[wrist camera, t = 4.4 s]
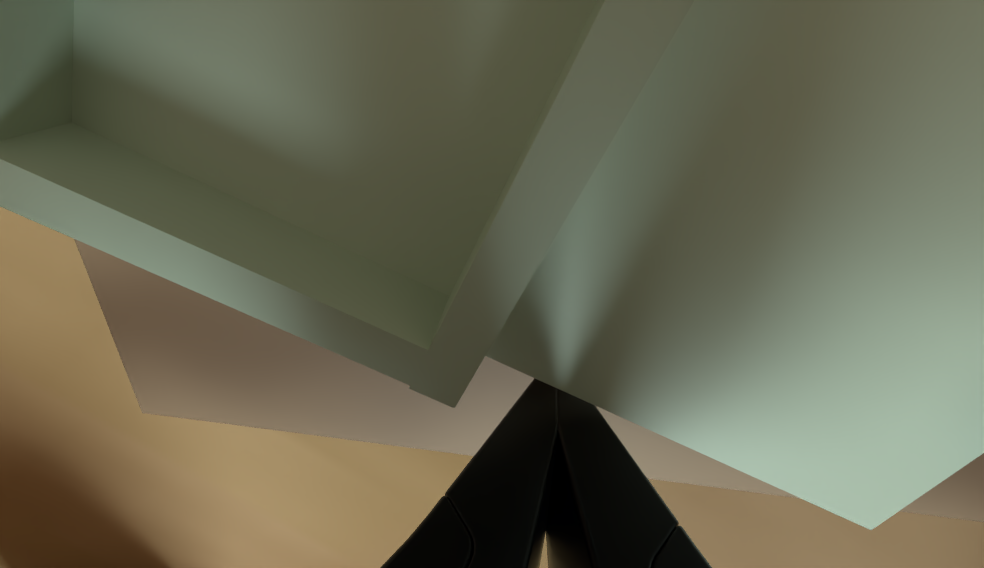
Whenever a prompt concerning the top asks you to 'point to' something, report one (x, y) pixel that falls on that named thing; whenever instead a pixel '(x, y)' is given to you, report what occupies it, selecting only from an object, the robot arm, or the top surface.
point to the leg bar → (556, 202)
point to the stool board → (362, 388)
